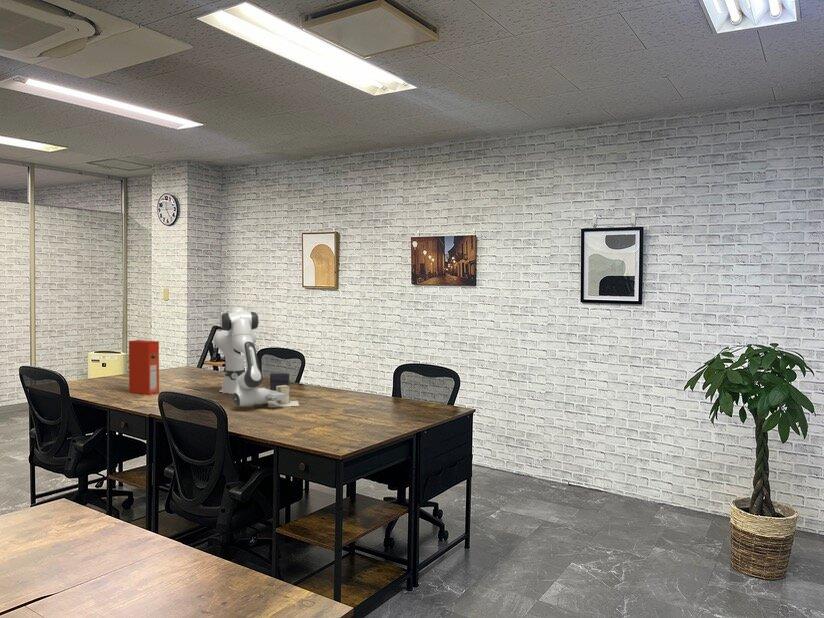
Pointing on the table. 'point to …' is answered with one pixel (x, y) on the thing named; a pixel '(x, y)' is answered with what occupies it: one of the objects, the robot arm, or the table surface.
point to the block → (283, 390)
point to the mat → (292, 403)
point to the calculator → (278, 380)
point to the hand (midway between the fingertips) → (283, 393)
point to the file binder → (144, 367)
